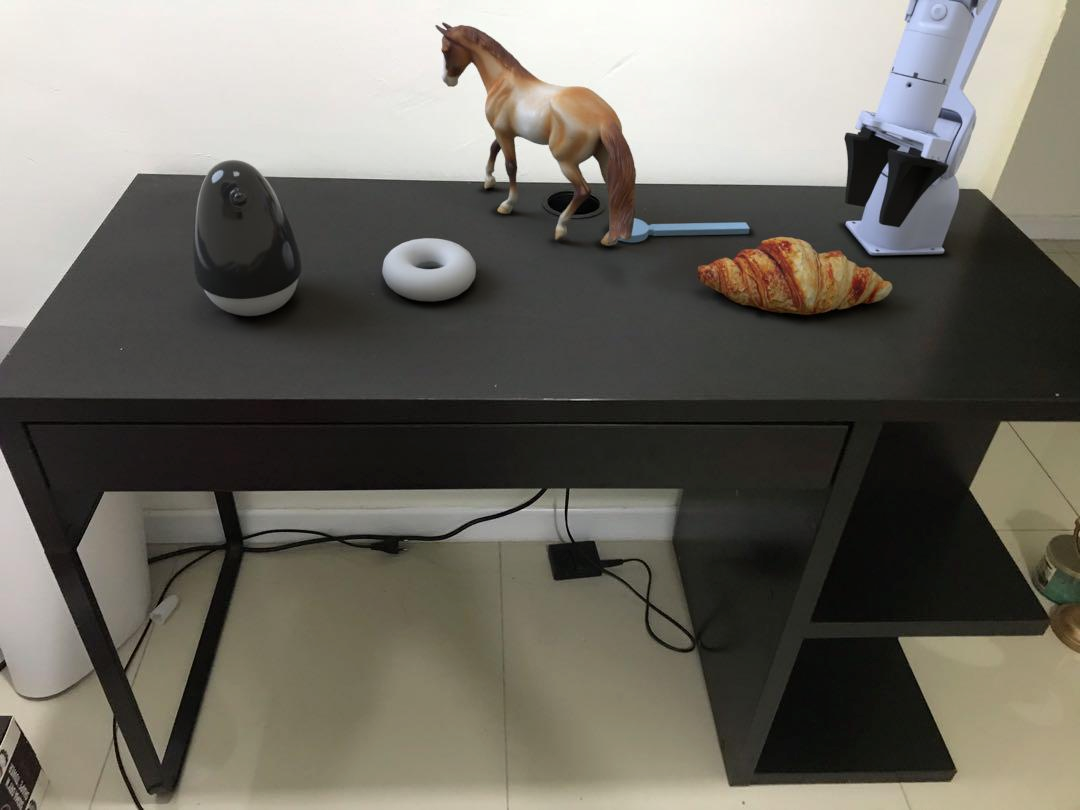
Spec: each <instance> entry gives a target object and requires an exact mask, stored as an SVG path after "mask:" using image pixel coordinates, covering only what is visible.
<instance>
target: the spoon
mask: <svg viewBox="0 0 1080 810" xmlns="http://www.w3.org/2000/svg"><path fill="white" fill-rule="evenodd" d="M750 230H751V228H750V226H749V225H748V224H747V222H741V221H740V222H698V223H697V222H696V223H695V222H693V223H691V222H689V223H651V224H647V222H646V221H644V220H642V219H639V218H635V217H634V224H633V230H632V235H631V237H630V239H625V240H622V239H621V238H619V239H618V241H620V242H623V243H631V244H632V243H634V244H635V243H640V242H643V241H646V239H647V238H648V237H649V236H653V237H669V236H671V237H672V236H674V237H675V236H678V237H679V236H716V235H717V236H719V235H720V236H721V235H749V234H750Z"/></svg>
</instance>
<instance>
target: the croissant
mask: <svg viewBox="0 0 1080 810" xmlns="http://www.w3.org/2000/svg"><path fill="white" fill-rule="evenodd" d="M696 275H697V276H696V277H697V278H698V279H699V281H700V283H702V285H704V286H706V287H708V288H710V289H712V290H714V291H717V292H718V293H721V294H723V295H724V296H725V297H726V298H728V299H729V300H731V301H733V302H734V303H736V304H739V305H742V306H750V307H754V308H758V309H761V310H763V311H767V312H772V313H779V314H783V313H788V314H796V315H804V316H805V315H815V314H823V313H827V312H830V311H835V309H837V310H845V309H850V308H852V307H854V306H857V305H859V304H860V305H861V304H867V305H868V304H872V303H876V302H879V301H881V300H884V299H885V298H886V297H888V296H889V294H890V293H891V291H892V290H893V284H892V283H891V282H890V281H888V280H884V279H883V278H882V277H881V276H880V274H878V273H877V272H876V271H873V269H872V268H871V267H870V266H867V267H860V266H858V265H857V264H856V263H855V262H853V261H851V260H848V258H847V256H846V255H845V254H843V253H842V251H841V250H833V251H828V252H822V253H818V252H817V251H816V250H815V249H814V248H813V247H812V245H811V243H809V242H807V241H805V240H802V239H800V238H793V237H786V236H778V237H771V238H768V239H764V240H762V241H761V243H760V244H759V245H758V246H757V247H756V248H750V249H747V248H746V249H742V250H740V251H739V252H738V253H737V255H735V256H734V258H733V259H730V258H729V257H724V258H723V257H722V258H719V259H716V260H714V261H712V262H711V263H709V264H701V265H698V267H697V274H696Z"/></svg>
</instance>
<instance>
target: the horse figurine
mask: <svg viewBox="0 0 1080 810" xmlns="http://www.w3.org/2000/svg"><path fill="white" fill-rule="evenodd" d="M441 25H442V26H443V27H444V28H443V27H441V26H439V25H438V24H435V28H436V30H438V31H439V32H440V33H441V34H442V38H441V43H442V44H441V48H440V49H441V51H440V52H441V53H442V56H443V58H442V59H443V60H442V61H443V62H442V63H443V66H442V75H441V79H442V82H443V83H444V84H445V85H446V86H447V87H449V88H450V87H451V88H452V87H453V88H454V87H456V86H457V85H458V83H459V78H460V77H461V75H462V74H463V73H464V72H465V71H466V69H467V68H468V66H469V65H471V64H473V65H474V66H475V68H476V69H477V72H478V74H479V76H480V79H481V82H482V84H483V86H484V88H485V91H486V95H487V96H486V99H485V100H486V101H485V104H484V112H485V115H484V116H485V118H486V121H487V123H488V124H489V126H490V127H491V129H492V130H493V133H494V136H495V139H494V140H493V141H492V143H491V145H490V147H489V157H488V159H487V163H486V165H485V168H484V169H485V176H484V185H483V186H484V189H485V190H487V189H489V188H492V187H494V186H496V184H497V181H496V177H495V176H494V175H493V173H494V172H495V167H496V166H495V165H496V161H497V157H498V154H499V153H500V151H502V153H503V157H504V166H505V171H506V174H507V177H508V180H509V193H508V198H507V199H505V200H504V201H503V202H502V203H501V204H500V206H499V207H498V208H497V212H498V213H500V214H503V215H508V214H511V212H512V210H513V208H514V207H513V204H514V203H516V202H518V200H519V194H518V186H517V173H518V161H517V153H516V143H515V139H516V138H517V137H518V138H522V139H524V140H527V141H529V142H531V143H533V144H536V145H541V146H548V150H549V152H550V153H551V155H552V157H553V159H554V160H555V161H556V162H557V164H558V167H559V168H560V172H561V173H562V174H563V176H564V177H565V179H566V180H568V181H569V182H570V184H571V185H572V186H573V197H572V199H571V201H570V203H569V204H568V205H567V207H566V209H564V210H563V211H562V213H561V214H560V215H559V218H558V221H557V224H556V226H555V235H554V240H555V241H559V240H561V239H562V238H563V237H565V236H566V235H568V227H567V226H566V224H567V223H570V222H571V219H572V217H573V216H574V214H575V213H576V211H577V210H578V208H579V207H580V206H581V205H582V204H583V203H584V202H585V201H586V200H587V199H589V197H590V196H591V194H592V187H591V186H590V184H589V183H588V182H587V180H586V179H585V177H584V175H583V173H582V171H581V169H580V164H582V163H584V162H586V161H587V160H589V159H591V157H593V158H594V159H595V161H596V162H597V163H598V166H599V167H598V168H599V170H600V174H601V177H602V179H603V182H604V184H605V186H606V189H607V192H608V220H609V227H608V229H609V230H608V231H607V232H606V233H605V235H604V236H603V238H602V239H601V240H600V243H601V244H602V245H603V246H607V247H611V246H615V245H617V243H618V241H619V240H618V239H619V238H621V239H622V240H625V239H630V237H631V235H632V230H633V224H634V218H635V217H636V209H635V204H636V192H635V189H636V179H637V170H636V166H635V160H634V156H633V153H632V151H631V148H630V145H629V144H628V142H627V141H628V140H627V139H626V138H625V136H624V134H623V126H622V122H621V120H620V118H619V115H618V113H617V112H616V111H615V110H614V108H613V107H612V106H611V105H610V104H609V103H608V102H607V101H606V100H605V99H604V98H603V97H601V95H599V94H597V92H595V91H593V90H592V89H590V88H589V87H586V86H577V85H574V86H571V85H570V86H563V85H556V84H553V83H548V82H545V81H543V80H541V79H539V78H538V77H537V76H535V75H534V74H532V73H531V72H530V70H528V69H527V68H525V67H524V66H523V65H522V63H520V61H519V60H518V59H517V58H516V57H515V56H514V55H513V54H512V53H511V52H510V51H508V50H507V49H506V48H505V47H504V46H503V45H502V44H501V43H500V42H499V41H497V40H496V39H495V38H493V37H492V36H490V35H489V34H488V33H486V32H484V31H483V30H480V29H478V28H477V27H474V26H472V25H464V24H459V25H457V26H452V25H450V24H448V23H446V22H441Z"/></svg>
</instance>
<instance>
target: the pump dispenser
mask: <svg viewBox="0 0 1080 810" xmlns="http://www.w3.org/2000/svg"><path fill="white" fill-rule="evenodd" d="M197 196H198V197H197V200H196V201H197V202H196V206H195V214H194V224H193V238H192V245H193V246H192V248H193V249H192V251H193V252H192V253H193V255H192V256H193V268H194V274H195V279H196V282H197V284H198V285H199V286H200V288H201V289H203V291H204V293H205V294H206V296H207V297H208V299H209V300H210V301H211V302H212V303H213V304H214V305H215V306H217V307H218V308H220V309H221V310H223V311H224V312H227V313H229V314H233V315H237V316H243V317H257V316H262V315H265V314H270V313H272V312H274V311H276V310H278V309H280V308H281V307H283V306H284V305H285V304H286V303H287V302H289V301H290V299H291V298H292V297H293V295H294V293H295V291H296V288H297V286H298V282H299V277H300V276H301V273H302V267H303V266H302V259H301V255H300V254H301V253H300V250H299V247H298V244H297V241H296V238H295V235H294V232H293V228H292V225H291V224H290V222H289V219H288V217H287V214H286V212H285V210H284V208H283V205H282V203H281V201H280V200H279V198H278V196H277V194H276V192H275V190H274V188H273V187H272V186H271V184H270V183H269V181H268V180H267V179H266V177H265V176H264V175H263V173H261V172H260V171H259V170H258V168H256V167H255V166H254V165H252V164H251V163H248V162H246V161H244V160H243V161H242V160H239V159H227V160H223V161H221V162H219V163H217V164H215V165H214V166H213V167H211V169H209V171H208V172H207V174H206V175H205V177H204V179H203V181H202V184H201V186H200V188H199V192H198V195H197Z"/></svg>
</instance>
